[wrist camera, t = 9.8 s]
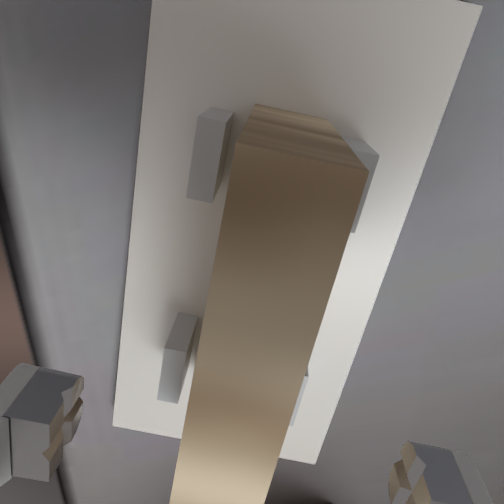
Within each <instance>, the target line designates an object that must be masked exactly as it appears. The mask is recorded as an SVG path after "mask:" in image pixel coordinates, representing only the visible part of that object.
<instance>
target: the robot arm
mask: <svg viewBox="0 0 504 504" xmlns="http://www.w3.org/2000/svg"><path fill="white" fill-rule="evenodd" d="M83 389H84V378H83V377H82V376H79V375H75V374H70V373H66V372H62V371H57V370H53V369H48V368H44V367H38V366H33V365H29V364H25V363H21V364H19V365H18V366H16V367H15V368H14V369H13V370H12V372H11V373H10V374H9V375H8V377H7V378H6V379H5V380H4V381H3V382H2V383H1V385H0V486H1V485H3V484H4V483H5V482H7V481H8V480H10V479H11V476H16V477H22V478H28V479H34V480H40V481H46V482H49V481H50V479H51V477H52V476H53V474H54V472H55V470H56V468H57V467H58V465H59V463H60V461H61V459H62V457H63V446H64V445H66V444H67V443H69V442H71V441H72V439H73V437H74V435H75V433H76V431H77V428H78V425H79V422H80V420H81V415H82V410H83V401H82V400H81V398H80V397H79V396H80V394H81V392H82V390H83ZM400 452H401V456H402V460H400V461H398V462H397V463H395V464H394V465H393V468H392V470H391V472H390V477H389V484H388V485H389V496H390V500H391V504H494V503H493V501H492V499H491V497H490V495H489V492H488V490H487V488H486V486H485V484H484V482H483V480H482V478H481V475H480V473H479V471H478V469H477V467H476V465H475V463H474V461H473V458H472V457H471V456H470V455H469V454H468V453H467V452H462V451H456V450H451V449H445V448H440V447H435V446H430V445H425V444H419V443H414V442H409V441H408V442H407V443H405V444H404V445H403V447H402V449H401V451H400Z"/></svg>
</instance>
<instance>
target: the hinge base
mask: <svg viewBox="0 0 504 504" xmlns="http://www.w3.org/2000/svg"><path fill="white" fill-rule="evenodd" d="M482 8H483V6H480V5H476V4H471V3H467V2H462V1H458V0H152V7H151V18H150V29H149V40H148V50H147V61H146V72H145V83H144V93H143V104H142V115H141V126H140V136H139V147H138V158H137V169H136V179H135V190H134V201H133V212H132V222H131V233H130V244H129V255H128V265H127V276H126V287H125V298H124V308H123V319H122V330H121V341H120V351H119V362H118V373H117V384H116V394H115V405H114V416H113V426H117V427H122V428H127V429H132V430H137V431H143V432H148V433H153V434H158V435H164V436H169V437H174V438H179V439H181V438H182V433H183V427H184V422H185V416H186V411H187V405H188V400H189V395H190V389H191V384H192V378H193V373H194V368H195V362H196V357H197V351H198V346H199V340H200V335H201V330H202V324H203V319H204V313H205V308H206V303H207V297H208V292H209V286H210V281H211V275H212V270H213V265H214V259H215V254H216V248H217V243H218V238H219V232H220V227H221V221H222V216H223V210H224V205H225V200H226V194H227V189H228V183H229V178H230V173H231V167H232V162H233V156H234V151H235V146H236V142H237V140H238V138H239V136H240V134H241V132H242V130H243V128H244V126H245V124H246V122H247V120H248V117H249V115H250V113H251V111H252V109H253V107H254V105H255V104H260V105H264V106H269V107H273V108H278V109H283V110H287V111H292V112H296V113H301V114H306V115H310V116H315V117H319V118H324V119H328V121H329V122H330V123H331V124H332V126H333V127H334V128H335V129H336V131H337V132H338V133H339V134H340V136H341V137H342V138H343V139H344V141H345V142H346V143H347V144H348V146H349V147H350V148H351V149H352V151H353V152H354V153H355V154H356V156H357V157H358V158H359V159H360V161H361V162H362V163H363V164H364V166H365V167H366V168H367V169H368V171H369V175H368V178H367V181H366V184H365V187H364V190H363V194H362V197H361V200H360V203H359V206H358V209H357V213H356V216H355V219H354V222H353V225H352V228H351V231H350V235H349V238H348V241H347V244H346V247H345V250H344V253H343V257H342V260H341V263H340V266H339V269H338V272H337V275H336V279H335V282H334V285H333V288H332V291H331V294H330V298H329V301H328V304H327V307H326V310H325V313H324V316H323V320H322V323H321V326H320V329H319V332H318V335H317V338H316V342H315V345H314V348H313V351H312V354H311V357H310V361H309V364H308V367H307V370H306V373H305V376H304V379H303V383H302V386H301V389H300V392H299V395H298V398H297V401H296V405H295V408H294V411H293V414H292V417H291V420H290V423H289V427H288V430H287V433H286V436H285V439H284V442H283V446H282V449H281V452H280V455H279V458H284V459H289V460H294V461H299V462H305V463H310V464H315V463H316V460H317V458H318V455H319V452H320V449H321V447H322V444H323V441H324V439H325V436H326V433H327V430H328V428H329V425H330V422H331V419H332V417H333V414H334V411H335V409H336V406H337V403H338V400H339V398H340V395H341V392H342V390H343V387H344V384H345V381H346V379H347V376H348V373H349V370H350V368H351V365H352V362H353V360H354V357H355V354H356V351H357V349H358V346H359V343H360V340H361V338H362V335H363V332H364V330H365V327H366V324H367V321H368V319H369V316H370V313H371V311H372V308H373V305H374V302H375V300H376V297H377V294H378V291H379V289H380V286H381V283H382V281H383V278H384V275H385V272H386V270H387V267H388V264H389V261H390V259H391V256H392V253H393V251H394V248H395V245H396V242H397V240H398V237H399V234H400V232H401V229H402V226H403V223H404V221H405V218H406V215H407V212H408V210H409V207H410V204H411V202H412V199H413V196H414V193H415V191H416V188H417V185H418V182H419V180H420V177H421V174H422V172H423V169H424V166H425V163H426V161H427V158H428V155H429V152H430V150H431V147H432V144H433V142H434V139H435V136H436V133H437V131H438V128H439V125H440V123H441V120H442V117H443V114H444V112H445V109H446V106H447V103H448V101H449V98H450V95H451V93H452V90H453V87H454V84H455V82H456V79H457V76H458V73H459V71H460V68H461V65H462V63H463V60H464V57H465V54H466V52H467V49H468V46H469V44H470V41H471V38H472V35H473V33H474V30H475V27H476V24H477V22H478V19H479V16H480V14H481V11H482Z"/></svg>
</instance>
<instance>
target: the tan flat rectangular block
mask: <svg viewBox="0 0 504 504" xmlns="http://www.w3.org/2000/svg"><path fill="white" fill-rule="evenodd" d="M368 175H369V171H368V169H367V168H366V167H365V166H364V164H363V163H362V162H361V161H360V159H359V158H358V157H357V156H356V154H355V153H354V152H353V151H352V149H351V148H350V147H349V146H348V144H347V143H346V142H345V141H344V139H343V138H342V137H341V136H340V134H339V133H338V132H337V131H336V129H335V128H334V127H333V126H332V124H331V123H330V122H329V121H328V119H324V118H319V117H315V116H310V115H306V114H301V113H296V112H292V111H287V110H283V109H278V108H273V107H269V106H264V105H260V104H255V105H254V107H253V109H252V111H251V113H250V115H249V117H248V120H247V122H246V124H245V126H244V128H243V130H242V132H241V134H240V136H239V138H238V140H237V142H236V146H235V151H234V156H233V162H232V167H231V173H230V178H229V183H228V189H227V194H226V200H225V205H224V210H223V216H222V221H221V227H220V232H219V238H218V243H217V248H216V254H215V259H214V265H213V270H212V275H211V281H210V286H209V292H208V297H207V303H206V308H205V313H204V319H203V324H202V330H201V335H200V340H199V346H198V351H197V357H196V362H195V368H194V373H193V378H192V384H191V389H190V395H189V400H188V405H187V411H186V416H185V422H184V427H183V433H182V438H181V443H180V449H179V454H178V460H177V465H176V470H175V476H174V481H173V487H172V492H171V497H170V503H169V504H264V502H265V499H266V496H267V493H268V490H269V486H270V483H271V480H272V477H273V474H274V471H275V468H276V464H277V461H278V458H279V455H280V452H281V449H282V446H283V442H284V439H285V436H286V433H287V430H288V427H289V423H290V420H291V417H292V414H293V411H294V408H295V405H296V401H297V398H298V395H299V392H300V389H301V386H302V383H303V379H304V376H305V373H306V370H307V367H308V364H309V361H310V357H311V354H312V351H313V348H314V345H315V342H316V338H317V335H318V332H319V329H320V326H321V323H322V320H323V316H324V313H325V310H326V307H327V304H328V301H329V298H330V294H331V291H332V288H333V285H334V282H335V279H336V275H337V272H338V269H339V266H340V263H341V260H342V257H343V253H344V250H345V247H346V244H347V241H348V238H349V235H350V231H351V228H352V225H353V222H354V219H355V216H356V213H357V209H358V206H359V203H360V200H361V197H362V194H363V190H364V187H365V184H366V181H367V178H368Z"/></svg>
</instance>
